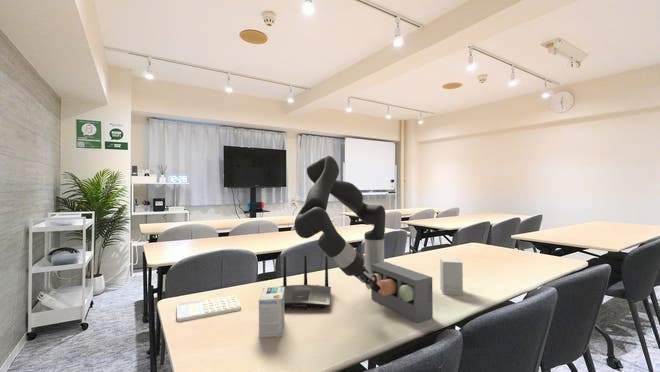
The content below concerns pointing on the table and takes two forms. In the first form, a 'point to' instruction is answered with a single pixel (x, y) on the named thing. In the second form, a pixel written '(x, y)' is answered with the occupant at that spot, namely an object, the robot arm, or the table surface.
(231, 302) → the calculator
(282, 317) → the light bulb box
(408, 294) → the sage button
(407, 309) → the button panel
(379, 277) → the cream button
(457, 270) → the supplement box
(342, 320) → the table surface
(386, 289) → the terracotta button
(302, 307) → the router
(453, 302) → the table surface
